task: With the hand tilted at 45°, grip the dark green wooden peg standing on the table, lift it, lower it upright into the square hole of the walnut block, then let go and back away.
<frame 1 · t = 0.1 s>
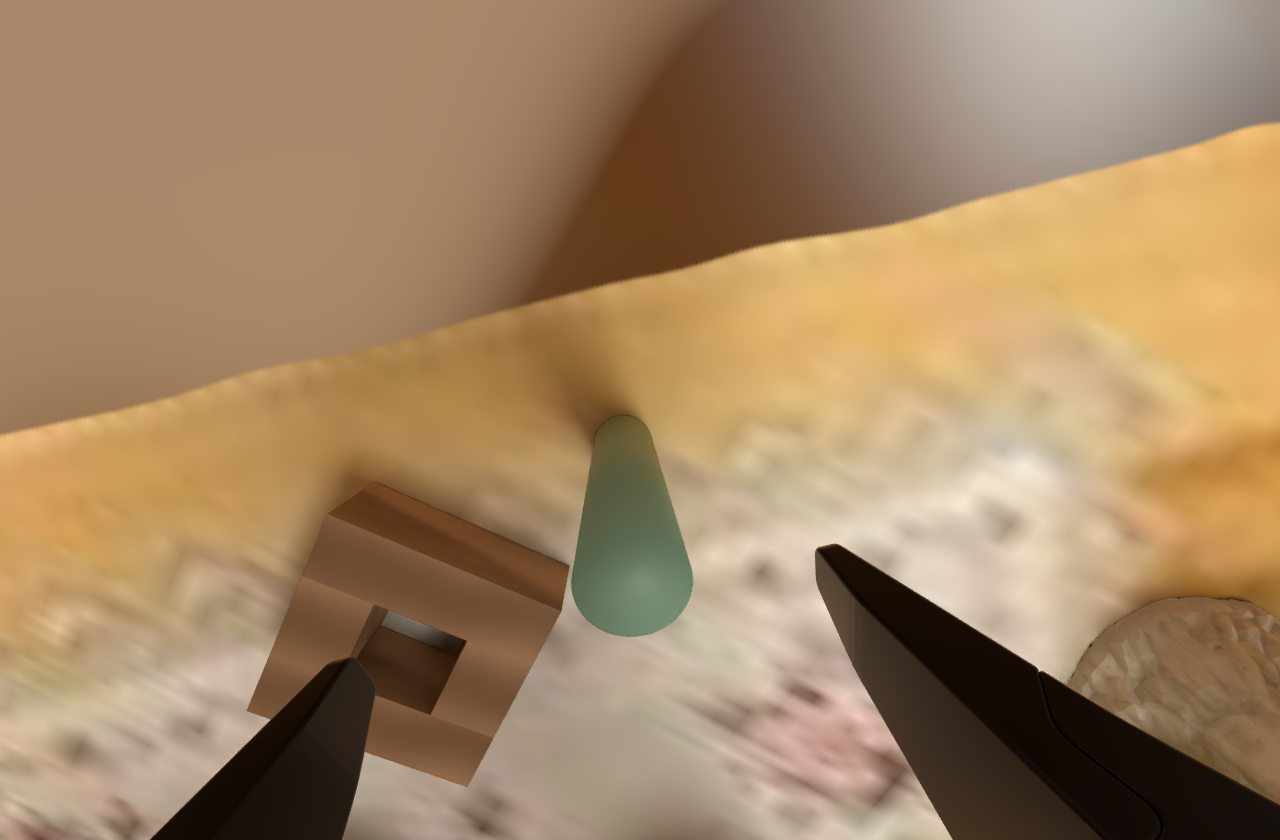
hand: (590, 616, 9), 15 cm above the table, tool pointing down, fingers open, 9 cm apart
peg: (623, 443, 24), on the table
ceramic cottage: (1161, 703, 30), on the table
hole block: (435, 609, 26), on the table
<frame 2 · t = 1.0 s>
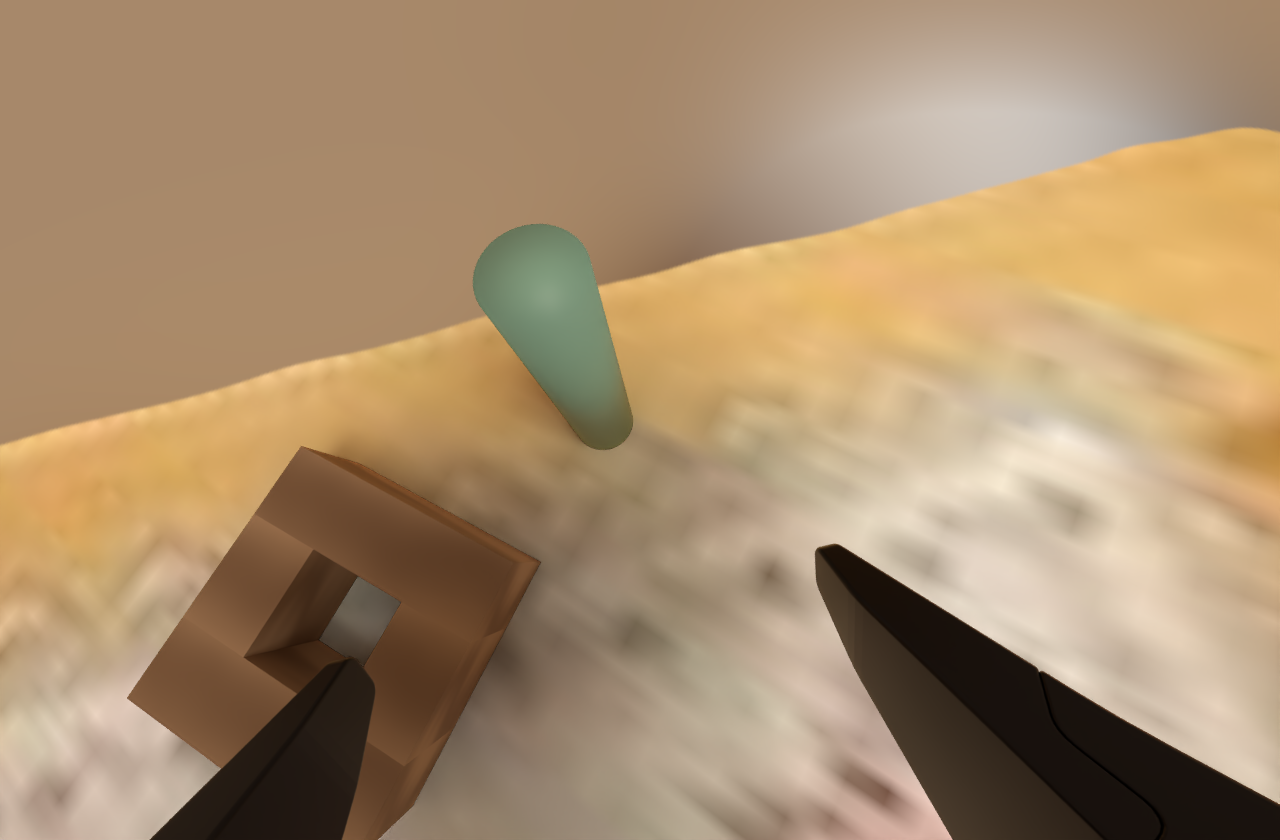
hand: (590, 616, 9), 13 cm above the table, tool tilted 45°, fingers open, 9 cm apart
peg: (603, 421, 24), on the table
hole block: (383, 617, 22), on the table
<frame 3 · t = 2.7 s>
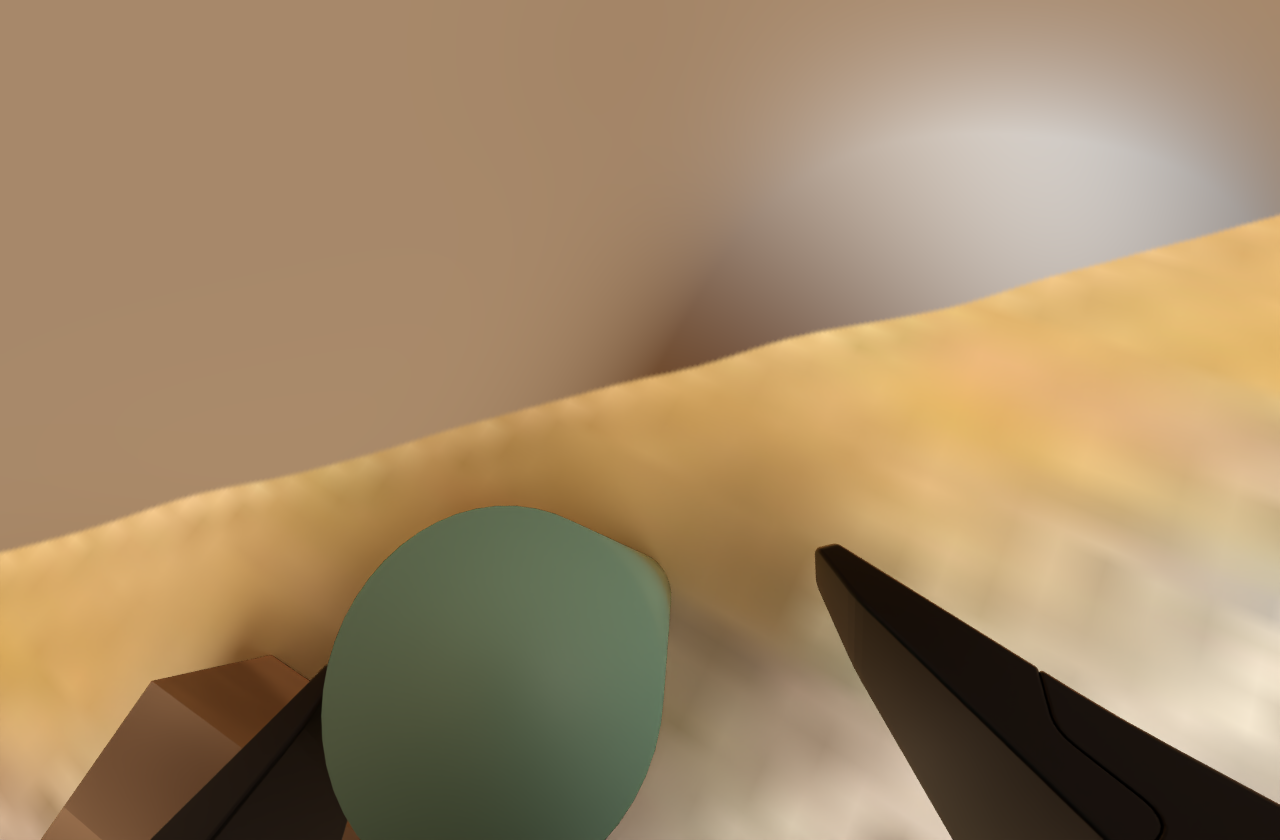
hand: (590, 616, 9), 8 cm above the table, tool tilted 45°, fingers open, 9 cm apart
peg: (628, 595, 16), on the table
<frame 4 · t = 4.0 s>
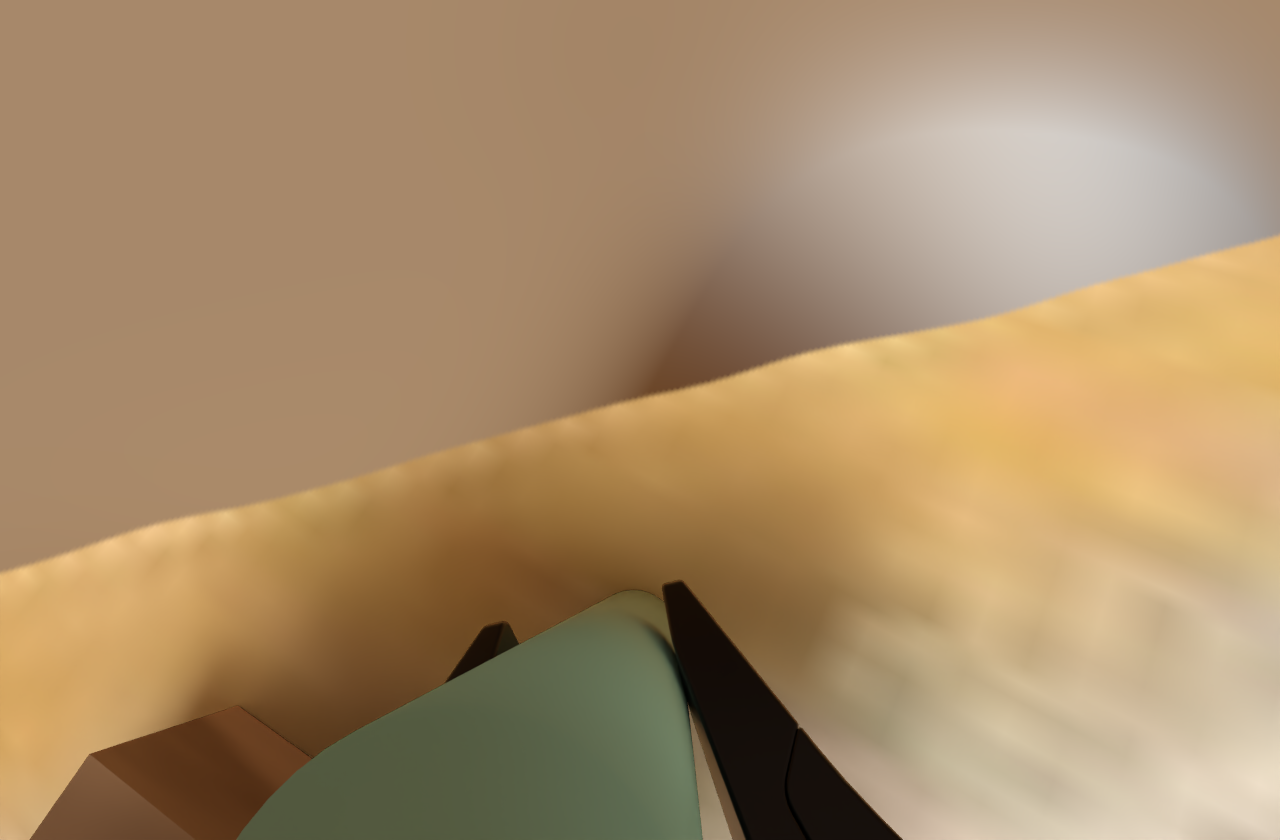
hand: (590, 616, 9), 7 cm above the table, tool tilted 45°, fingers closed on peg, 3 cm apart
peg: (633, 640, 15), on the table, touching gripper
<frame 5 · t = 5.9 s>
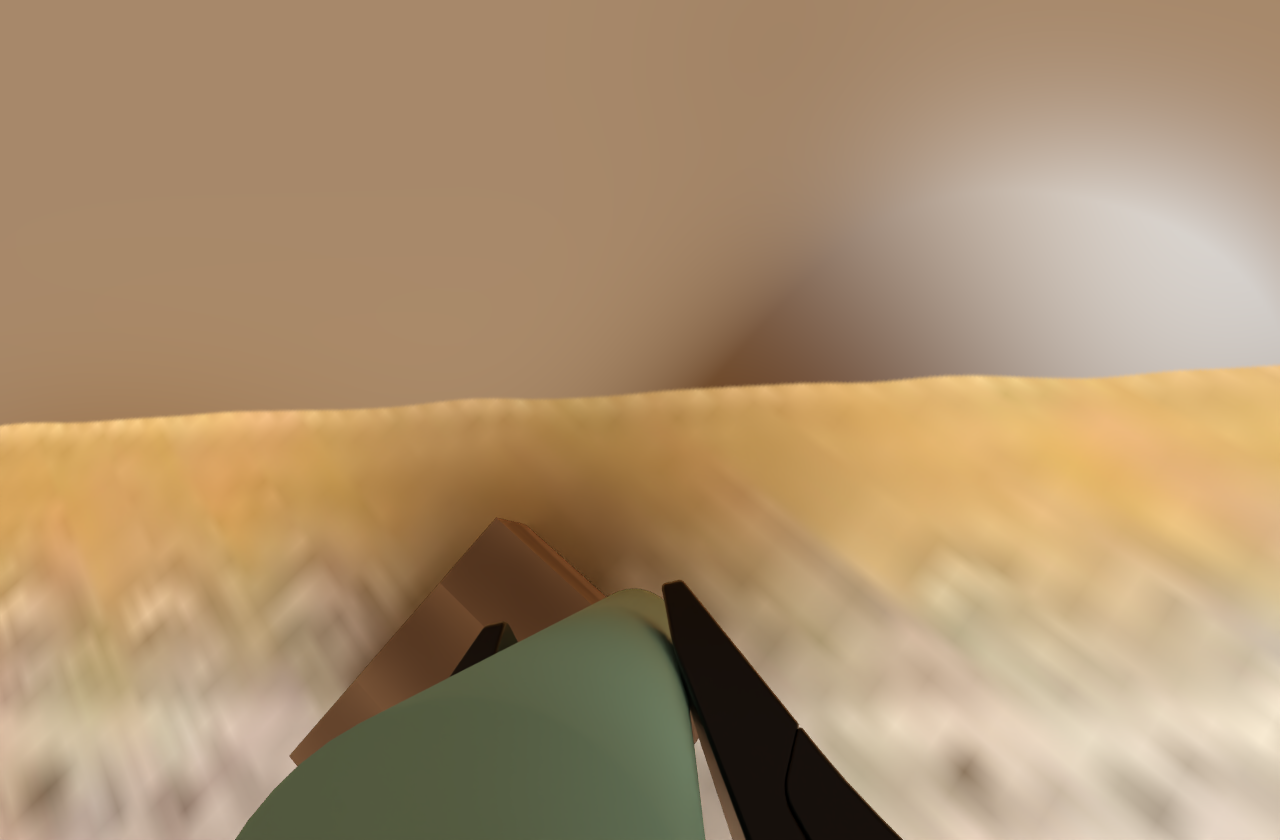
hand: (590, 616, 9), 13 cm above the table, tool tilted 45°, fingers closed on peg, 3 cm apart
peg: (633, 638, 15), point 7 cm above the table, touching gripper
hole block: (530, 703, 21), on the table
when the fingers open (8 cm above the table, at t = 8.0 s): peg drops 1 cm, resting in hole block.
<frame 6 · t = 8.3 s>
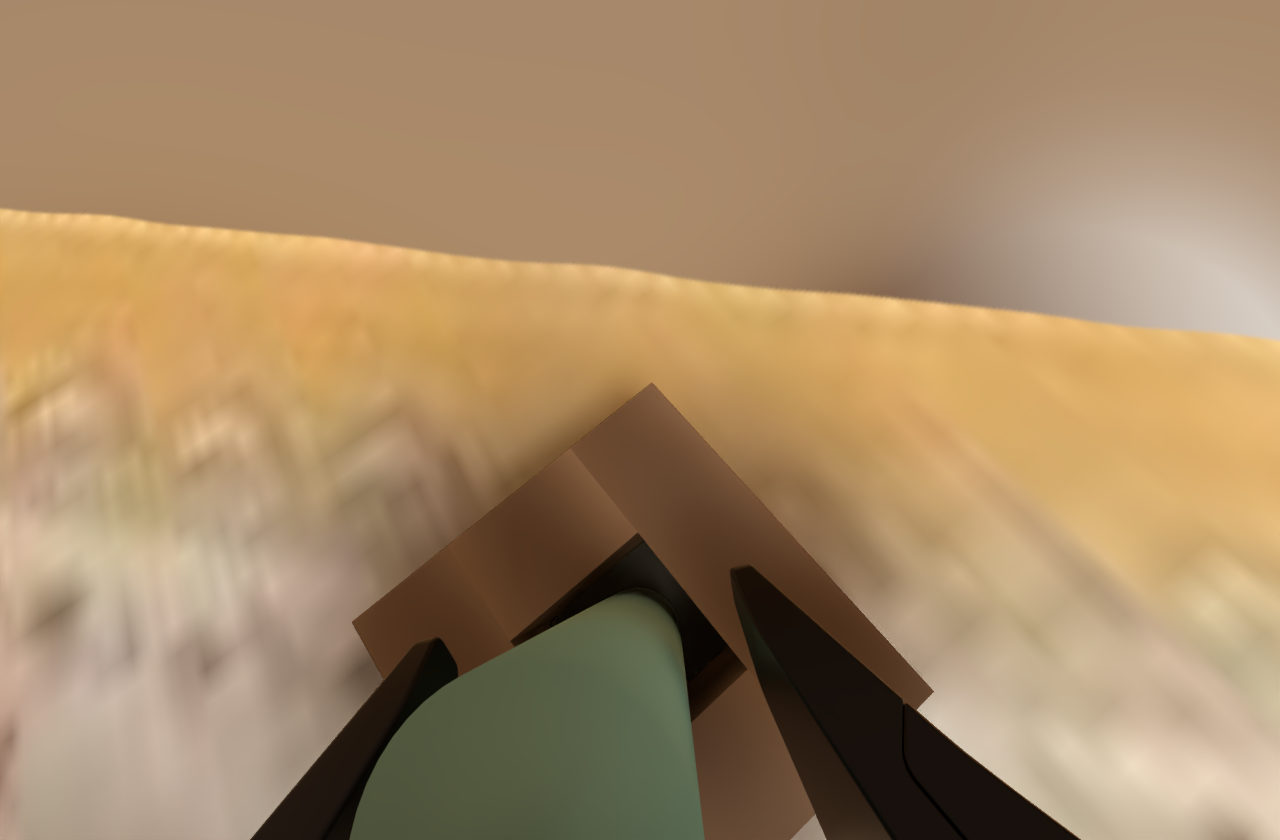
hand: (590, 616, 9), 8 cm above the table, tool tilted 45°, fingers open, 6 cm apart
peg: (637, 633, 16), resting in hole block
hole block: (637, 633, 16), on the table
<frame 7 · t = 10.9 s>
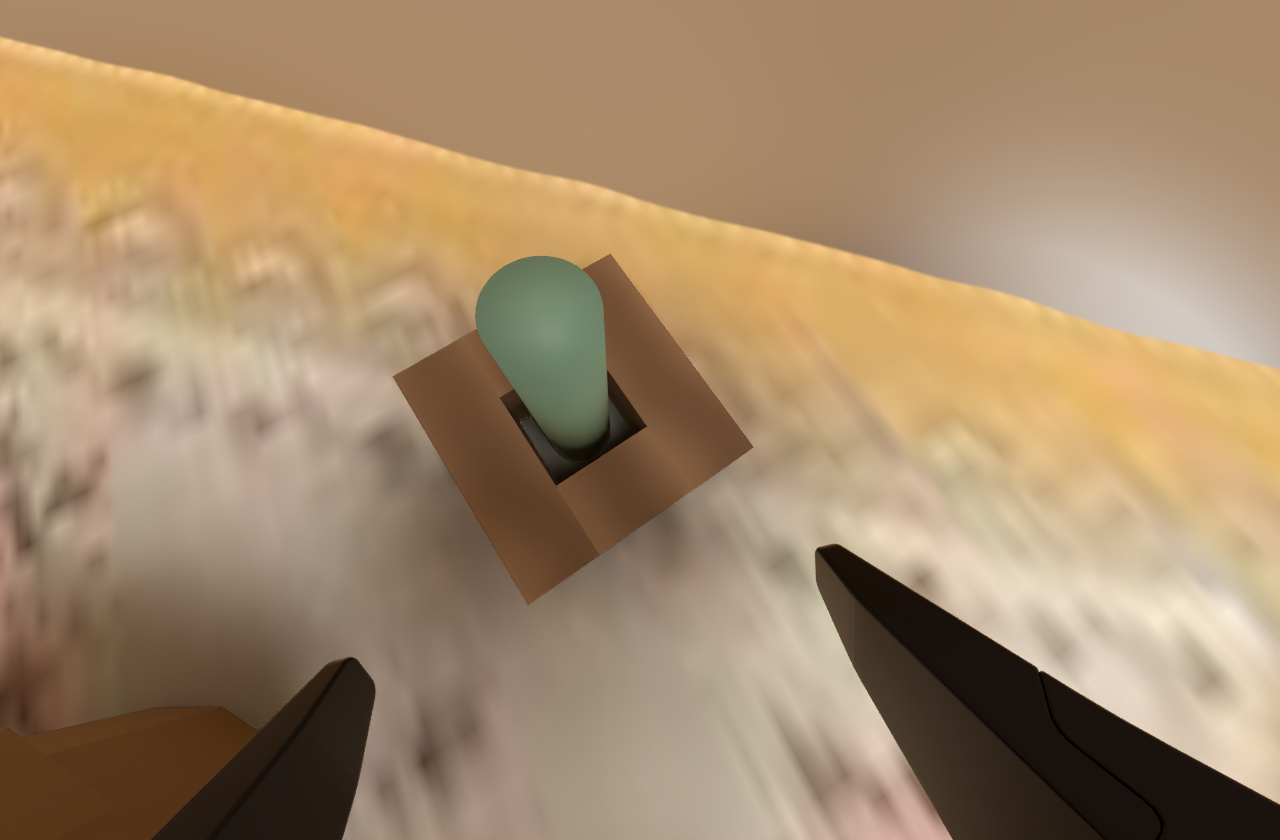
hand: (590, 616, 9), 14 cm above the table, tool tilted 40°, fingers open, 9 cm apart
peg: (580, 432, 24), resting in hole block
hole block: (580, 432, 24), on the table
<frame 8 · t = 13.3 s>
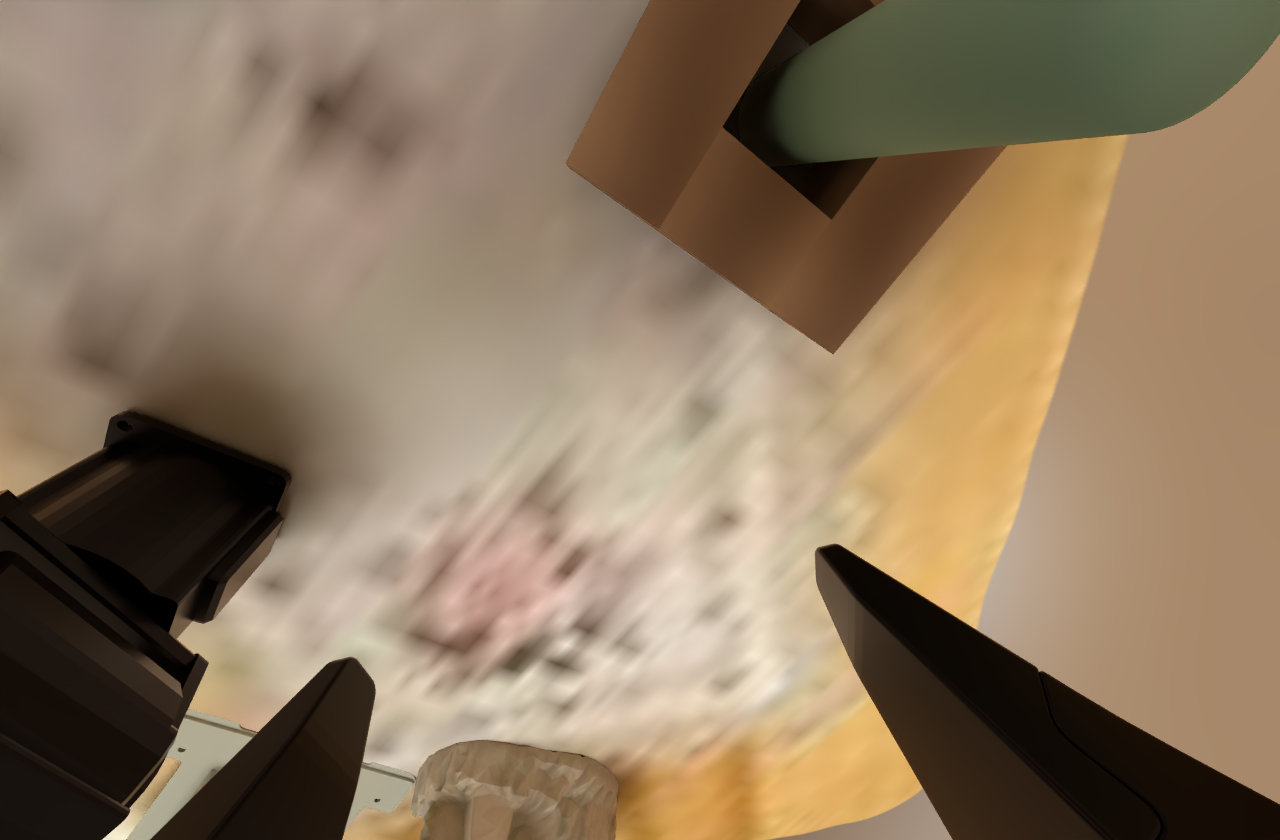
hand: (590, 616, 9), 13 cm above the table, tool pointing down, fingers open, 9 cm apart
peg: (778, 119, 17), resting in hole block
ceramic cottage: (513, 800, 36), on the table
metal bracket: (271, 782, 32), on the table
hole block: (778, 119, 17), on the table
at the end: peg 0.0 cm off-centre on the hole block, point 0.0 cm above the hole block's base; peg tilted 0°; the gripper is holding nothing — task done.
